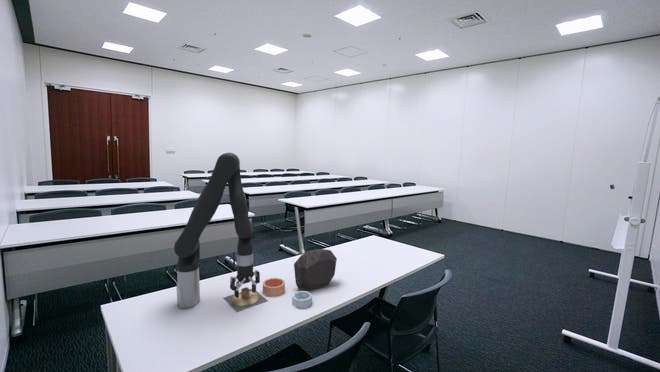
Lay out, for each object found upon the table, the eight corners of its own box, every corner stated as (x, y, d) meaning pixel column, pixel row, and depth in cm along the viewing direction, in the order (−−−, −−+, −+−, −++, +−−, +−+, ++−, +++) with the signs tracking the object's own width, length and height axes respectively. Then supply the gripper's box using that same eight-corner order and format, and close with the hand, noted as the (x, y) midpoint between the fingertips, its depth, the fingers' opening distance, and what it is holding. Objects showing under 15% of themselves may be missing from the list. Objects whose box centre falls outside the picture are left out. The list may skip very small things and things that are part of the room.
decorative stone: (299, 295, 156) (300, 257, 153) (291, 288, 163) (292, 251, 160) (339, 284, 169) (340, 249, 166) (330, 278, 176) (331, 244, 173)
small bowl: (299, 310, 142) (299, 302, 141) (289, 302, 149) (289, 294, 148) (315, 304, 148) (315, 296, 147) (304, 296, 155) (304, 289, 154)
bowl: (269, 299, 151) (269, 289, 150) (259, 290, 159) (259, 281, 159) (288, 292, 158) (288, 283, 157) (277, 284, 166) (277, 276, 166)
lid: (238, 309, 141) (238, 298, 140) (227, 298, 150) (226, 287, 150) (264, 300, 149) (264, 290, 148) (251, 290, 159) (251, 280, 158)
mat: (236, 312, 139) (236, 312, 139) (222, 298, 151) (222, 297, 151) (268, 301, 149) (268, 301, 149) (253, 289, 161) (253, 288, 161)
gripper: (233, 268, 140) (234, 302, 142) (262, 261, 149) (262, 293, 151) (227, 263, 145) (228, 295, 148) (255, 256, 154) (255, 287, 157)
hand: (245, 294), depth 149 cm, fingers open, 8 cm apart
